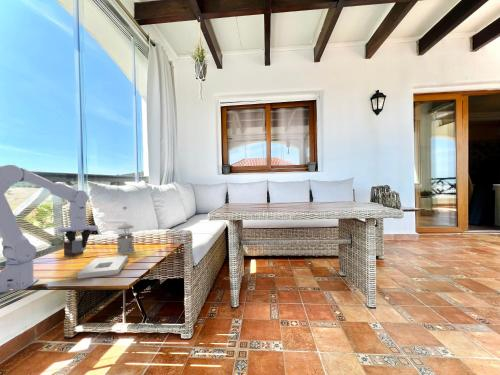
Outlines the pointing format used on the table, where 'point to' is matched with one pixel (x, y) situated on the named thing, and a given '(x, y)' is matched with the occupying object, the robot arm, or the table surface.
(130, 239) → the french press
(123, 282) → the table surface
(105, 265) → the base plate
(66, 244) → the box
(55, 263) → the table surface
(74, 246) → the block
